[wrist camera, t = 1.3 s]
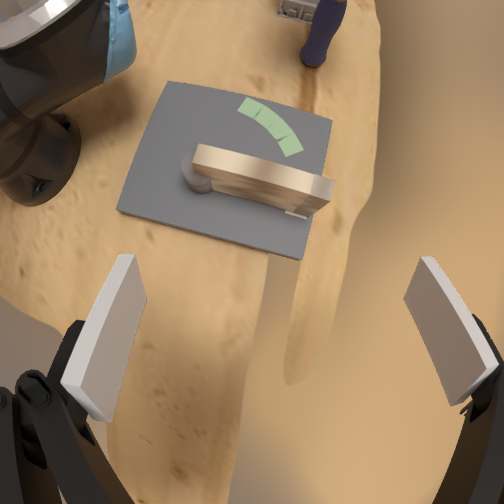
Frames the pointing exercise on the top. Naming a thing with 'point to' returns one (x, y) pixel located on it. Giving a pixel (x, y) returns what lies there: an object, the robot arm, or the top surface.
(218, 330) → the top surface
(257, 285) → the top surface
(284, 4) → the circuit breaker
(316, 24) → the rubber mallet
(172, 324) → the top surface
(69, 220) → the top surface
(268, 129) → the board
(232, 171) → the wooden block
